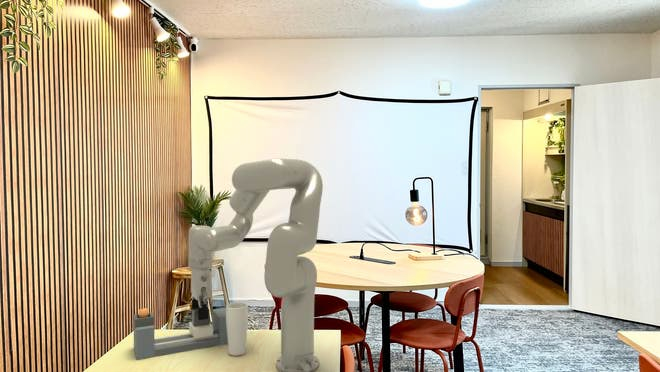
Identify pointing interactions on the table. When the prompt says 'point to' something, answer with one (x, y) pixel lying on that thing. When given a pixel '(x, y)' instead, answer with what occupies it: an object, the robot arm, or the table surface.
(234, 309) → the drinking glass
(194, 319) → the carriage
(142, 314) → the button
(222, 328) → the rail track
